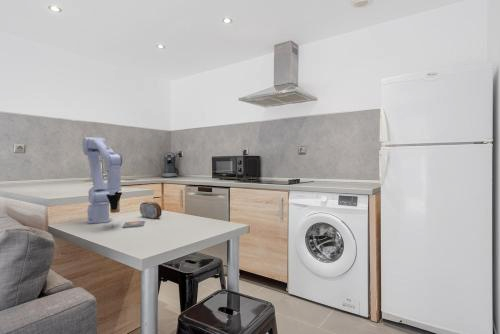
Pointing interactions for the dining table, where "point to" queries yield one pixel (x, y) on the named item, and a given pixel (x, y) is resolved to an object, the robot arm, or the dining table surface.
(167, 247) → the dining table surface
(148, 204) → the tin
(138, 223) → the card
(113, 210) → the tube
